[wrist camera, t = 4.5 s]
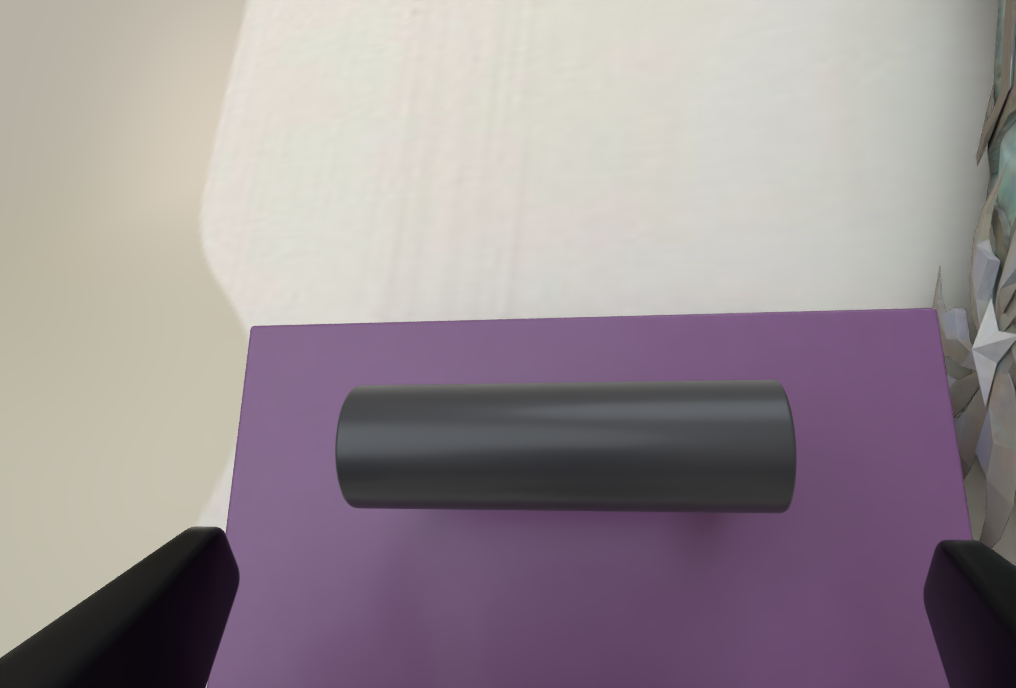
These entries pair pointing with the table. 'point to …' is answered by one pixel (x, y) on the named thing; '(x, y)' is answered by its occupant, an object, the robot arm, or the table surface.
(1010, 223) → the ornate book
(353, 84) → the table surface
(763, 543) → the lid
